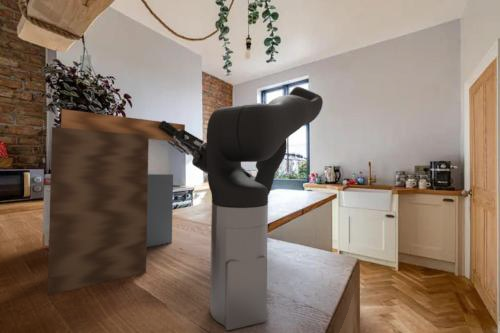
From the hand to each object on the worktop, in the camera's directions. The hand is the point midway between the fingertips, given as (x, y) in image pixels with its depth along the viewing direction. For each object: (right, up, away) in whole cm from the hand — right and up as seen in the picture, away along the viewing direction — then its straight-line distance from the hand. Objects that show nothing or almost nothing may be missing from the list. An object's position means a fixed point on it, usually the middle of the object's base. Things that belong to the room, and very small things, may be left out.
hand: (158, 125), depth 55 cm
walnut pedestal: (-10, -33, -7) cm, 35 cm away
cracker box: (-28, -33, +9) cm, 45 cm away
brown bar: (-5, -3, -3) cm, 7 cm away
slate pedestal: (-11, -33, +13) cm, 37 cm away
